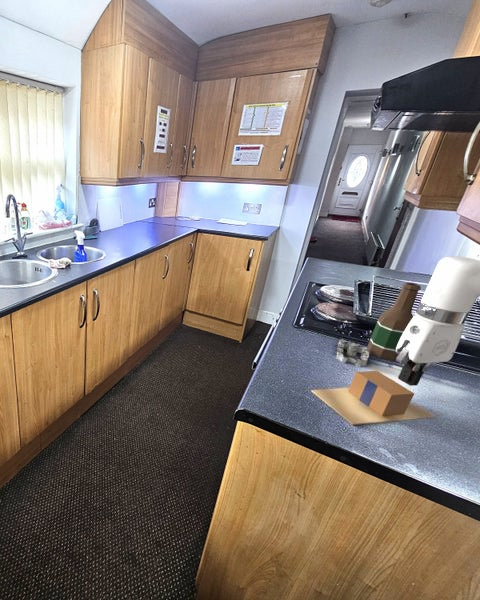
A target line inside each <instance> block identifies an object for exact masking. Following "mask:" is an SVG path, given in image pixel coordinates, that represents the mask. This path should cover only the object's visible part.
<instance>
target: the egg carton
mask: <svg viewBox="0 0 480 600" xmlns="http://www.w3.org/2000/svg"><path fill="white" fill-rule="evenodd" d="M344 350H346V353H345V355H347V356H348V357H346V356H345V355H344ZM358 353H359V354H360V356H359V358H357V359H354V358H352V357H356V356H357V354H358ZM335 358H336V360H338V361H340V362H341V363H343V364H344V363H345V364H346V363H351V364H353V365H354V366H355V367H358V368H360V367H366V366H367V363H368V359H369V358H370V354H369V352H368V351H367V346H364V347H363V346H361V344H360V343H357V344H356V343H355V342H352V341H348V340H345V339H343V338H340V340H339V342H338V343H337V347H336V357H335Z"/></svg>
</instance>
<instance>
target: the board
mask: <svg viewBox="0 0 480 600" xmlns="http://www.w3.org/2000/svg"><path fill="white" fill-rule="evenodd" d="M348 390H349V387H337V388H336V387H335V388H324V389H312V390H311V391H310V392H311V393H313V394H314V395H315V396H316V397H317V398H319V399H320V400H321V401H322V402H323V403H325V404H326V405H327V406H329V408H331V409H332V410H333V411H334V412H336V413H337V414H338V415H339V416H341V417H342V419H344V420H345V421H346V422H348V423H349V424H350V425H351V426H359V425H370V424H371V425H372V424H382V423H395V422H402V421H413V420H423V419H429V418H437V417H438V416H437V415H435V414H433V413H432V412H430V411H429V410H427V409H425V408H424V407H422V406H418V405H416V404H413V403H411V402H410V404H409V406H408V407H407V409H406V411H405V413H404V414H401V415H388V416H381V415H380V414H378V413H377V412H376V411H374V410H373V409H371V408H370V407H369V406H367V405H365V404H364V403H363V402H361V401H360V400H359V399H358V398H356V397H355V396H353V395H352V394H351V393H349V392H348Z"/></svg>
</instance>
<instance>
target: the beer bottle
mask: <svg viewBox="0 0 480 600" xmlns="http://www.w3.org/2000/svg"><path fill="white" fill-rule="evenodd" d="M421 289H422V286H421V285H420V284H418V283H415V282H404V283H403V284H402V288H401V290H400V292H399V294H398V296H397V297H396V299H395V302H394V304H393V305H392V306H391V307H390V308H388V309H386V310H385V311H384V312H383V313H382V314H381V315H380V316H379V318H378V320H377V322H376V324H375V327H374V329H373V331H372V334H371V337H370V339H369V341H368V344H367V346H366V348H367V351H368V352H369V355H372V356H373V357H375V358H377V359H380V360H385V361H390V362H394V361H396V358H397V357H398V355H399V354H398V353H396V347H397V345H398V342H399V340H400V338H401V336H402V334H403V332H404V331H405V329H406V327H407V326H408V324H409V323H410V321H411V320H412V318H413V317H414V315H413V313H412V312H413V308H414V304H415V301H416V298H417V296H418V293H419V291H421Z"/></svg>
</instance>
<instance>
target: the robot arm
mask: <svg viewBox="0 0 480 600" xmlns="http://www.w3.org/2000/svg"><path fill="white" fill-rule="evenodd" d="M479 297H480V255H478V256H477V257H476V258H471V257H463V256H445V257H443V258H442V259H440V260H439V261H438V263H437V265H436V266H435V269H434V271H433V273H432V276H431V277H430V280H429V282H428V284H427V286H426V289H425V291H424V293H423V296H422V297H421V300H420V301H419V304H418V306H417V308H416V310H415V313H414V315H413V318H412V320H411V321H410V323H409V324H408V326H407V327H406V329H405V331H404V332H403V334H402V336H401V338H400V340H399V342H398V345H397V347H396V353H398V354H399V355H398V357H397V358H396V360H395V361H396V362H398V363H400V364H401V365H402V368H401V370H400V371H399V374H398V376H397V379H398V380H399V381H401V382H403V383H404V384H406V385H408V386H411V387H412V386H419V383H420V381H421V379H422V377H423V375H424V374H425V372H426V371H427V370H428V369H429V368H430V366H431V365H432V364H433V363H444V362H446V363H447V362H448V361H451V359H453V357H454V354H455V352H456V350H457V348H458V346H459V343H460V340H461V339H462V335H463V332H464V328H465V322H466V320H467V318H468V316H469V314H470V312H471V310H472V309H473V307H474V305H475V303H476V301H477V299H478V298H479Z"/></svg>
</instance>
